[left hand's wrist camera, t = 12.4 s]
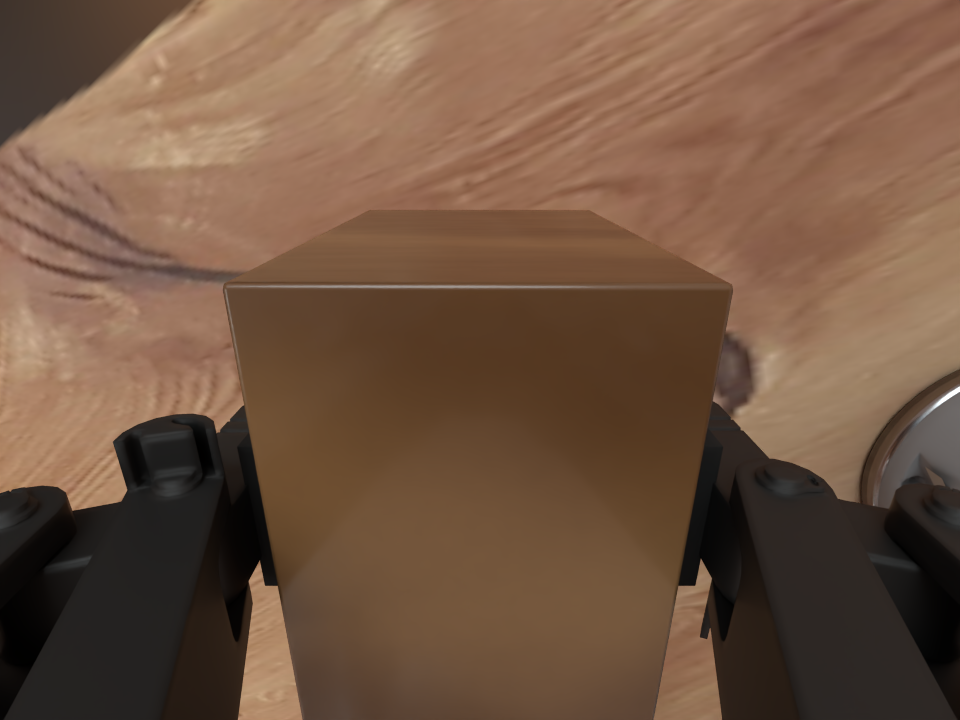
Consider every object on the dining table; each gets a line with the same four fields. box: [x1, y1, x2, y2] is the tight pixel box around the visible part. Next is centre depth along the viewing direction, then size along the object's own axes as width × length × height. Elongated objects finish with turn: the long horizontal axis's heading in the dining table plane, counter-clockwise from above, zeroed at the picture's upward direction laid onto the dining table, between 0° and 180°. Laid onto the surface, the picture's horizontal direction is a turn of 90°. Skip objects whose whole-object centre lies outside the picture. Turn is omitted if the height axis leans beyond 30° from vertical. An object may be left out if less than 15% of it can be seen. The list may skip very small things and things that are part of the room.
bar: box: [223, 210, 733, 720], centre depth 14 cm, size 23×6×8 cm, turn 0°
